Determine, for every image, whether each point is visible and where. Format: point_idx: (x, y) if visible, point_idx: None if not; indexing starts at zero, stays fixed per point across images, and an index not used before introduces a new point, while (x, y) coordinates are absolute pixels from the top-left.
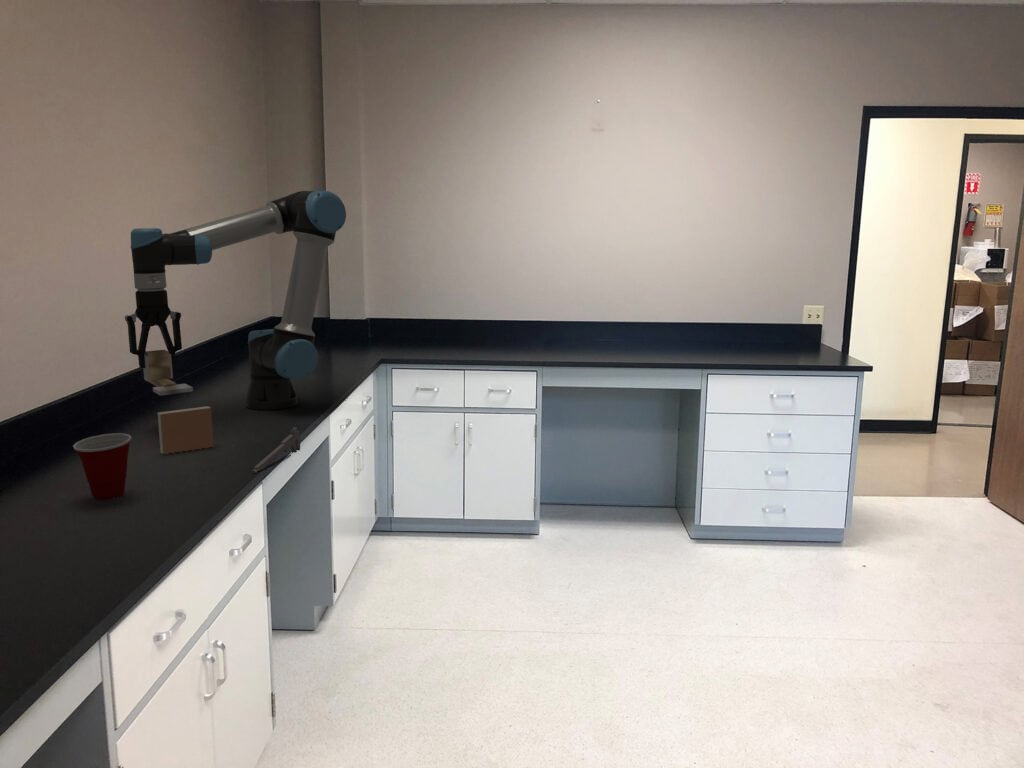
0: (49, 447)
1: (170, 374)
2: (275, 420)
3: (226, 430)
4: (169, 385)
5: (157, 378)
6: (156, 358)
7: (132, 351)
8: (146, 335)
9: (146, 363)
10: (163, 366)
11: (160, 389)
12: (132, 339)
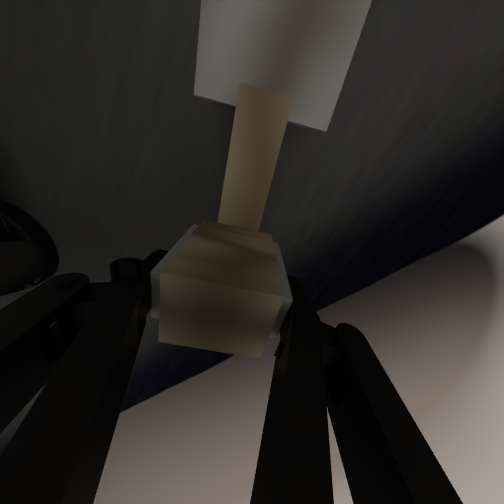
0: (408, 252)
1: (200, 223)
2: (19, 114)
3: (143, 117)
4: (270, 91)
5: (249, 230)
6: (242, 269)
7: (365, 341)
8: (297, 460)
9: (283, 276)
10: (217, 242)
11: (339, 45)
12: (415, 438)
